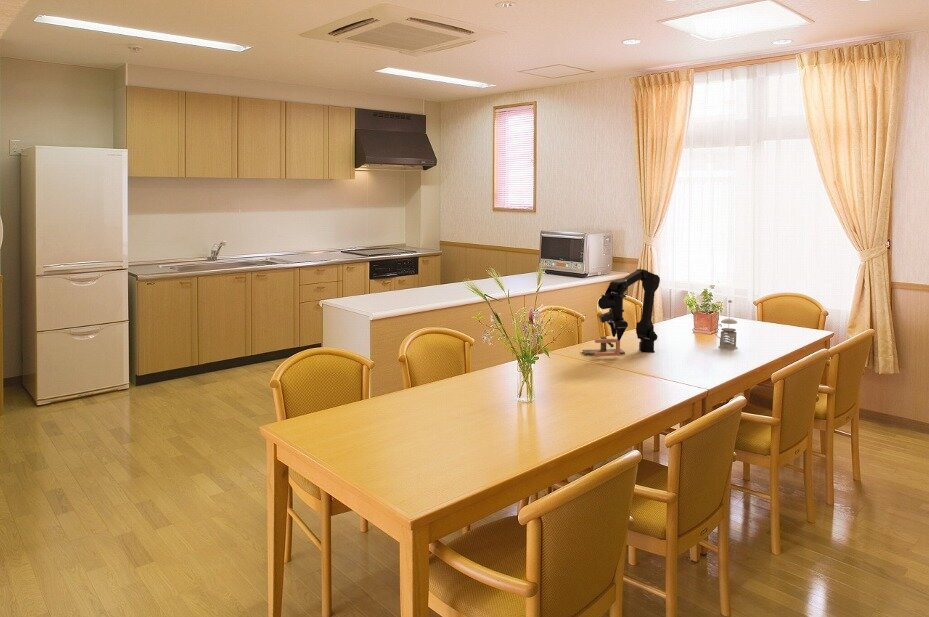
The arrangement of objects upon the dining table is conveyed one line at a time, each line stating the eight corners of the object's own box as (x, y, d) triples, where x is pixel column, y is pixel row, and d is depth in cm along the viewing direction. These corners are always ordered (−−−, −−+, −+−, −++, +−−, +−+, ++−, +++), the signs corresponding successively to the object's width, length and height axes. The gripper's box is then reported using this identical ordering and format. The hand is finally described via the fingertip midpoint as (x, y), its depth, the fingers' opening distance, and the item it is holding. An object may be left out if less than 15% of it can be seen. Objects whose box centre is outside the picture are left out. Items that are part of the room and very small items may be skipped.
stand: (620, 351, 361) (621, 335, 360) (632, 360, 340) (632, 343, 339) (582, 352, 360) (582, 335, 359) (591, 361, 339) (591, 344, 338)
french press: (739, 350, 360) (742, 301, 356) (716, 349, 362) (718, 301, 358) (735, 345, 369) (738, 298, 365) (712, 345, 371) (714, 298, 367)
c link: (618, 354, 347) (618, 338, 346) (619, 355, 344) (620, 339, 343) (594, 355, 346) (594, 339, 345) (595, 356, 344) (595, 340, 342)
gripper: (595, 304, 351) (595, 335, 353) (605, 310, 332) (604, 342, 335) (617, 304, 351) (617, 334, 354) (628, 310, 333) (627, 342, 335)
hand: (616, 338), depth 344 cm, fingers open, 9 cm apart
